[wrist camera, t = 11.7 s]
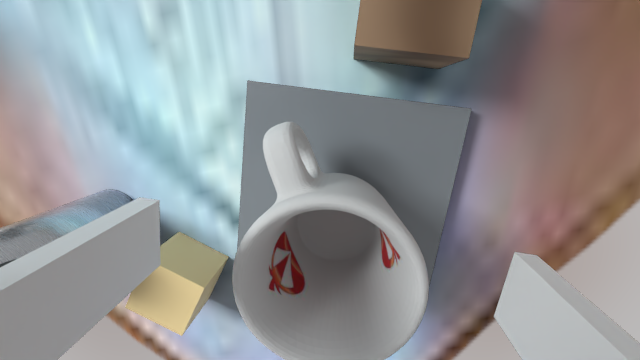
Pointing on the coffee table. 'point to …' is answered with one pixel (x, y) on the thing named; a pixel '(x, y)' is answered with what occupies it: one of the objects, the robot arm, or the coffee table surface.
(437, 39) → the walnut block
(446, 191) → the coaster
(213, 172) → the coffee table surface
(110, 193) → the grey peg
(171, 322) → the ochre block
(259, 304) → the cup
